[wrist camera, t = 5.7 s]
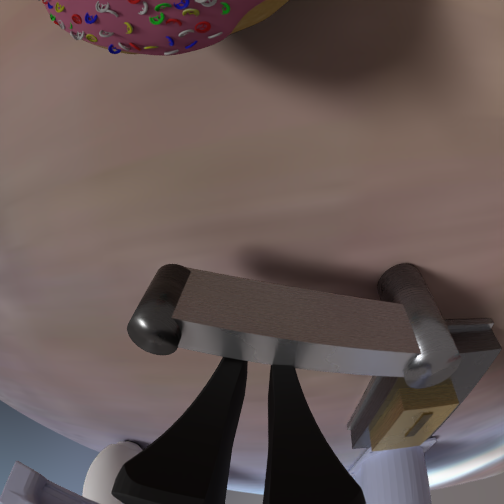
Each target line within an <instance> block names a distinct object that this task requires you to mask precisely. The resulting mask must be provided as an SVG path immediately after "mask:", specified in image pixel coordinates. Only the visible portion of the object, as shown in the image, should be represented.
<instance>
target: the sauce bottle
mask: <svg viewBox="0 0 504 504" xmlns="http://www.w3.org/2000/svg"><path fill="white" fill-rule="evenodd" d="M141 451H143V450H142V449H141V448H140V446H139V445H137V444H135V443H133V442H130V441H126V442H122V441H121V442H118V443H117V444H111V445H109V446H107V447H106V448H105V449H103V450H102V451H101V452H100V453H99V454H98V456H97V457H96V458H95V459H94V461H93V462H92V464H91V466H90V468H89V470H88V473H87V475H86V479H85V483H84V487H83V495H82V496H83V497H85V498H87V499H90V500H92V501H95V502H97V503H100V504H124V503H122V502H121V501H119V500H118V499H116V498H115V497H114V496H113V495H112V494H111V492H112V488H113V485H114V482H115V479H116V477H117V475H118V473H119V471H120V469H121V468H122V466H123V464H124V463H125V462H127V461H128V460H130V459H131V458H133V457H134V456H136V455H137V454H138V453H140V452H141Z"/></svg>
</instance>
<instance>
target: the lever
mask: <svg viewBox="0 0 504 504" xmlns="http://www.w3.org/2000/svg"><path fill="white" fill-rule="evenodd" d="M377 288H378V293H379V296H380V299H381V301H378V300H371V299H365V298H358V297H352V296H346V295H340V294H333V293H327V292H321V291H315V290H309V289H303V288H297V287H291V286H285V285H280V284H274V283H268V282H263V281H257V280H251V279H246V278H240V277H235V276H229V275H224V274H219V273H213V272H208V271H203V270H197V269H192V268H187V267H183V266H181V265H177V264H168V265H164V266H162V267H161V268H160V269H159V270H158V271H157V273H156V275H155V276H154V278H153V280H152V282H151V284H150V285H149V287H148V289H147V291H146V292H145V294H144V296H143V298H142V300H141V301H140V303H139V305H138V307H137V309H136V310H135V312H134V314H133V316H132V318H131V320H130V322H129V323H128V326H127V331H128V334H129V336H130V338H131V340H132V341H133V342H134V343H135V344H136V345H137V346H138V347H140V348H141V349H143V350H145V351H147V352H149V353H152V354H156V355H169V354H172V353H173V352H175V351H176V350H177V348H178V347H179V348H184V349H188V350H193V351H198V352H202V353H207V354H212V355H217V356H223V357H228V358H233V359H239V360H245V361H251V362H257V363H263V364H270V365H272V364H274V365H292V366H293V367H295V368H299V369H307V370H315V371H325V372H335V373H346V374H358V375H372V376H390V377H404V378H405V382H406V384H407V385H408V386H409V387H412V388H417V389H421V388H428V387H431V386H434V385H436V384H439V383H441V382H442V381H444V380H446V379H447V378H448V377H450V376H451V375H452V374H453V373H454V372H455V371H456V369H457V368H458V366H459V364H460V362H461V356H460V354H459V351H458V349H457V347H456V345H455V342H454V340H453V338H452V336H451V334H450V331H449V329H448V327H447V325H446V323H445V321H444V319H443V317H442V315H441V313H440V311H439V309H438V307H437V305H436V303H435V301H434V299H433V297H432V295H431V293H430V291H429V289H428V287H427V285H426V283H425V282H424V280H423V278H422V276H421V274H420V272H419V271H418V269H417V268H416V267H414V266H412V265H409V264H399V265H396V266H393V267H391V268H390V269H388V270H387V271H386V272H385V273H384V274H383V275H382V276H381V278H380V280H379V282H378V287H377Z"/></svg>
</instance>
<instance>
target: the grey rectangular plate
mask: <svg viewBox="0 0 504 504" xmlns="http://www.w3.org/2000/svg"><path fill="white" fill-rule="evenodd" d="M444 321H445V323H446V325H447V327H448V329H449V331H450V334H451V336H452V338H453V340H454V342H455V345H456V347H457V349H458V351H459V354H460V356H461V362H460V364H459V366H458V368H457V369H456V371H455V372H454V373H453V374H452V375H451V376H450V377H448V378H447V379H446V380H444V381H442V382H441V383H439V384H436V385H444V384H452V383H453V386H454V389H455V392H456V395H457V398H458V401H459V404H458V405H457V406H456V408H455V409H454V410H453V411H452V412H451V413H450V415H451V414H452V413H453V412H454V411H455V410H456V409H457V407H458V406H459V405H460V404H461V403H462V402H463V400H464V399H465V398H466V397H467V396H468V394H469V393H470V392H471V391H472V389H473V388H474V387H475V385H476V384H477V383H478V382H479V380H480V379H481V378H482V376H483V375H484V374H485V372H486V371H487V369H488V368H489V367H490V365H491V364H492V362H493V361H494V360H495V358H496V357H497V355H498V354H499V352H500V351H501V349H502V348H501V346H500V344H499V342H498V340H497V339H496V337H495V335H494V333H493V331H492V329H491V328H492V326H493V324H494V322H493V321H492V319H491V318H486V319H461V320H444ZM434 386H435V385H434ZM402 388H412V387H409V386H408V385H407V384H406V382H405V378H404V377H390V376H373V377H372V379H371V381H370V383H369V385H368V387H367V389H366V391H365V393H364V395H363V397H362V399H361V400H360V402H359V404H358V406H357V408H356V410H355V412H354V413H353V415H352V417H351V419H350V421H349V422H348V424H347V430H351V440H352V449H356V448H370V447H371V441H370V432H371V430H372V429H373V427H374V426H375V425H376V423H377V422H378V420H379V419H380V417H381V416H382V414H383V413H384V411H385V410H386V408H387V407H388V405H389V404H390V402H391V401H392V399H393V398H394V396H395V394H396V393H397V391H398V390H399V389H402ZM450 415H449V416H448V417H447V418H446V419H445V420H444V421H443V422H442V423H441V425H442V424H443V423H444V422H445V421H446V420H447V419H448V418H449V417H450ZM441 425H440V426H441ZM440 426H439V427H440ZM439 427H438V428H437V429H436V430H435V431H434V432H433V433H432V434H431V435H430V436H429V437H428V438H427V439H426V440H428V439H429V438H430V437H431V436H432V435H433V434H434V433H435V432H436V431H437V430H438V429H439ZM426 440H425V441H426Z"/></svg>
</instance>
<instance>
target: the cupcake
mask: <svg viewBox="0 0 504 504" xmlns="http://www.w3.org/2000/svg"><path fill="white" fill-rule="evenodd" d="M39 1H40V0H39ZM42 1H43V3H44V4H45V6H46V9H47V11H48V12H49V14H50V18H51V20H52V21H54V23H55V24H57V25H59V26H60V27H61V28H62V29H64V30H66V31H67V32H69V33H70V35H71V36H72V37H73V38H74V39H76V40H81V39H82V40H84V41H86V42H88V43H91V44H94V45H96V46H99V47H102V48H106V49H108V50H109V52H110V53H112V54H118V53H120V52H121V53H127V54H149V55H176V54H182V53H186V52H191V51H195V50H198V49H202V48H205V47H208V46H210V45H213V44H215V43H217V42H219V41H221V40H223V39H224V38H226V37H227V36H228V35H229V34H232V33H235V32H237V31H240V30H242V29H245V28H247V27H250V26H252V25H255V24H257V23H259V22H261V21H263V20H265V19H266V18H268V17H269V16H271V15H272V14H273V13H275V12H276V11H277V10H278V9H279V8H280V7H282V6H283V5H284V4H285V3H287V2H288V1H289V0H42Z"/></svg>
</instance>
